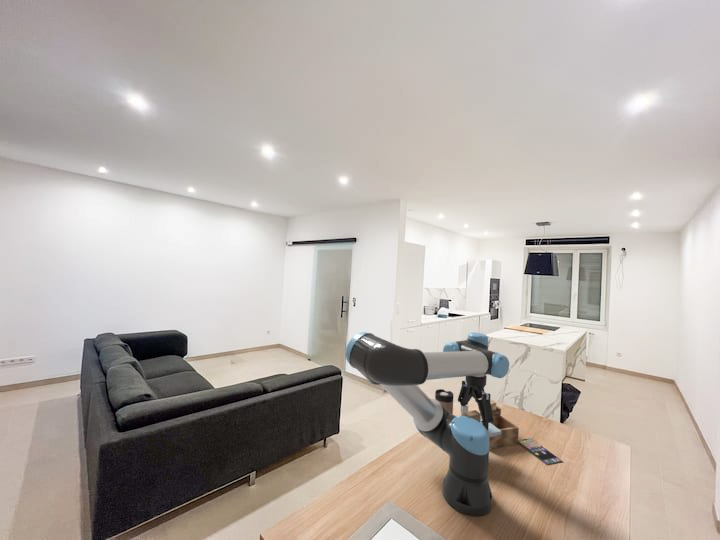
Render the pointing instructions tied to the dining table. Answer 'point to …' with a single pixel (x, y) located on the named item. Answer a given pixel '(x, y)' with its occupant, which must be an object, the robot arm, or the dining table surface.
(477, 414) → the lid
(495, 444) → the open wooden box
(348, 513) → the dining table surface
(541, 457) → the smartphone
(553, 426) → the dining table surface
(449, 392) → the travel mug
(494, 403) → the beige rectangular block
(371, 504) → the dining table surface
